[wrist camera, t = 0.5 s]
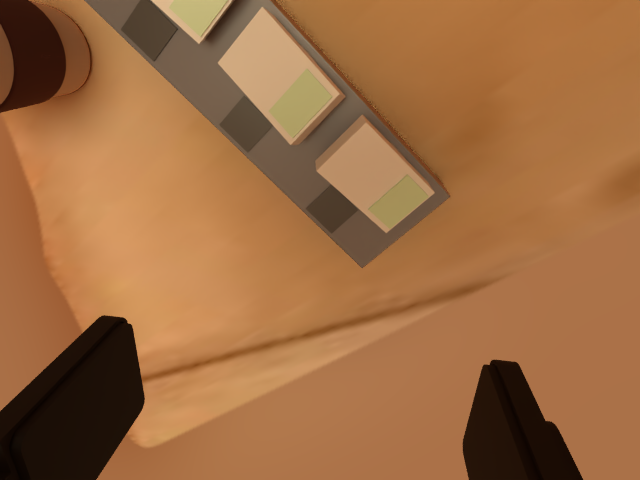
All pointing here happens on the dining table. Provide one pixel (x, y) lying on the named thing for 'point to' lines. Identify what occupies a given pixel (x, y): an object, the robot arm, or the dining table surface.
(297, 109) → the rocker middle
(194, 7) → the rocker
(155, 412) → the dining table surface
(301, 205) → the power strip
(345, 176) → the rocker
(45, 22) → the coffee cup
